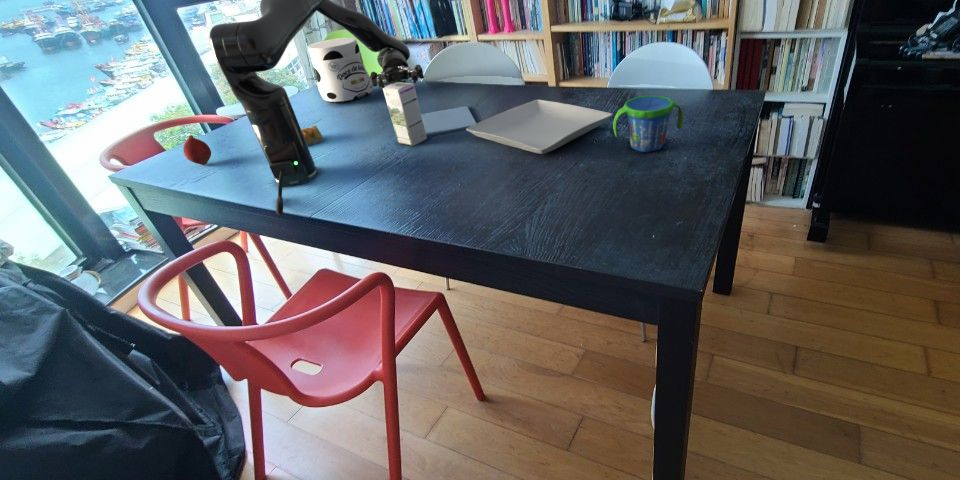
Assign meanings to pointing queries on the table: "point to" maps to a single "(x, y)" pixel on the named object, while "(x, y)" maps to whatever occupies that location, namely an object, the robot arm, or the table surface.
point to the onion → (196, 150)
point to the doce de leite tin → (340, 70)
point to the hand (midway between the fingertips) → (398, 81)
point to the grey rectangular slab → (447, 120)
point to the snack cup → (648, 121)
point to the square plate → (539, 125)
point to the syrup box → (405, 113)
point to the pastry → (312, 135)
